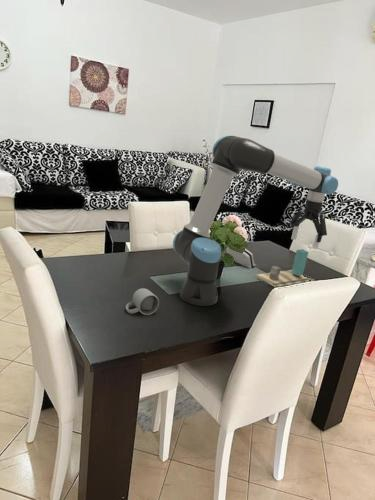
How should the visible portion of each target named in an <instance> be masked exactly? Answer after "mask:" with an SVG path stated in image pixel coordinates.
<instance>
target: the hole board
mask: <svg viewBox="0 0 375 500" xmlns="http://www.w3.org/2000/svg"><path fill="white" fill-rule="evenodd" d="M291 272H292V269H288V270H287V269H286V270H282V269H281V267H279V266H277V265H274V266H271V269H270V272H265V273H264V272H263V273H257V274H254V275H253V277H254V276H255V277H257V278H259V279H261V280H263V281H265V282H267V283H268V284H270V285H272V286H274V287H276V286H277V287H281V286H287V285H292V284H297V283H302V282H304V281H305V282H309V280H311V281H315V282H316V279H315V278H312V277H310V278H307V277H304V276H303V275H298V276H297V275H295V274H293V273H291ZM255 277H254V278H255ZM311 278H312V279H311Z"/></svg>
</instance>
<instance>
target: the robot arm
mask: <svg viewBox="0 0 375 500" xmlns="http://www.w3.org/2000/svg"><path fill="white" fill-rule="evenodd" d="M212 157H213V159H212V161H211V162H210V163H211V167H212V170H211V173H210V175H209V178H208V180H207V182H206V184H205V187H204V189H203V191H202V194H201V196H200V198H199V201H198V203H197V205H196V208H195V210H194V212H193V213H192V214H193V215H192V217H191V219H190V222H189V223H186V224H185V225H184V226H183V228H182V230H180V231H178V232H177V233H176V234H175V236H174V237H173V240H172V247H173V251H174V252H175V253H176V255H177V256H178V258H180V260H183V262H185V264H187V266H188V267H187V268H188V269H187V275H186V278H185V281H184V283H183V284H182V287H181V288H180V291H179V292H180V293H179V296H180V299H181V300H183V301H184V302H185V303H187V304H190V305H193V306H198V307H210V306H213V305H215V304H217V302H218V296H219V293H218V287H217V278H218V272H219V268H220V261H221V257H222V247H221V245H220V243H218V241H215V240H214V239H210V238H211V235H210V229H211V227H212V224H213V222H214V220H215V217H216V216H217V213H218V211H219V209H220V207H221V204H222V202H223V200H224V197H225V195H226V193H227V191H228V188H229V186H230V185H231V183H232V182H231V181H232V179H233V178H235V177H238V175H239V173H240V171H241V170H242V171H247V172H254V173H258V174H260V175H266V174H269V175H272V176H274V177H277V178H280V179H283V180H285V181H288V182H290V184H291V185H292V186H293V187H294V186H295V187H302V188H305V189H308V193H307V195H306V201H305V204H304V206H303V207H302V206H300V207H299V208H298V211H296V212H297V213H296V214H294V216H293V218H292V219H291V221H290V222H289V223H290V224H291V225H292V230H291V233H292V234H291V238H290V239H291V240H297V238H298V237H297V236H298V233H299V227H300V226H299V225H301V224H302V223H303V222H305V220H309V221H311V222H312V223H313V224H314V228H315V230H316V235H315V238H314V241H313V245H312V249H315V250H316V249H319V244H320V243H321V242H322V239H323V237H324V236H327V235H328V233H327V225H326V215H327V214H326V213H321V211H322V208H323V205H324V203H323V202H324V201H325V196H326V195H332V194H334V193H335V192H336V191H337V190H338V187H339V180H338V179H337V178H336V177H335V176H333V175H331V172H332V169H331V168H329V167H324V166H318V165H317V166H315V167H314V168H310V167H308V166H306V165H303V164H300V163H298V162H296V161H294V160H291V159H288V158H286V157H283V156H281V155H278V154H275V151H274V150H273V149H271V148H268V147H266V146H264V145H262V144H260V143H258V142H256V141H254V140H252V139H250V138H246V137H240V136H236V135H225V136H222V137H220V138H218V139H217V140H216V141H215V143H214V144H213V147H212Z"/></svg>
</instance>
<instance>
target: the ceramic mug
mask: <svg viewBox="0 0 375 500" xmlns="http://www.w3.org/2000/svg"><path fill="white" fill-rule="evenodd" d="M133 305H134V306H135V308H133V309H132V308H131V309H129V308H130V307H131V306H133ZM159 306H160V299H159V298H158V296H157V295H155V294H154V293H153V292H152V291H150V290H149V289H148V288H144V287H142V288H138V289H137V290H136V291H134V292H133V295H132V301H131V300H130V302H128V303H126V305H125V310H126V312H127V313H128V314H135V313H138V312H140V313H141V315H145V316H149V315H150V316H151V315H152V314H155V312H156V311H158V308H159Z"/></svg>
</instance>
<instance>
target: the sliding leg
mask: <svg viewBox="0 0 375 500" xmlns="http://www.w3.org/2000/svg"><path fill="white" fill-rule="evenodd" d="M308 255H309V252H308V251H307V250H306V249H296V251H295V256H294V260H293V264H292V268H291V270H292V272H291V273H293V274H295V275H297V276H298V275H303V274H304V272H305V267H306V263H307V261H308V260H307V259H308Z"/></svg>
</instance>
